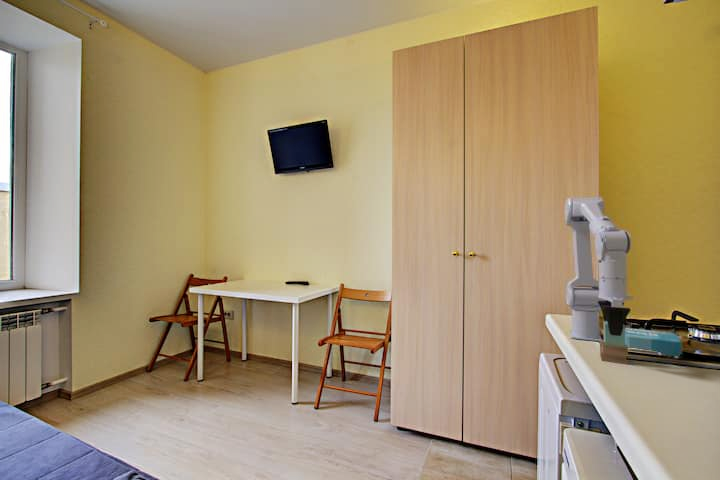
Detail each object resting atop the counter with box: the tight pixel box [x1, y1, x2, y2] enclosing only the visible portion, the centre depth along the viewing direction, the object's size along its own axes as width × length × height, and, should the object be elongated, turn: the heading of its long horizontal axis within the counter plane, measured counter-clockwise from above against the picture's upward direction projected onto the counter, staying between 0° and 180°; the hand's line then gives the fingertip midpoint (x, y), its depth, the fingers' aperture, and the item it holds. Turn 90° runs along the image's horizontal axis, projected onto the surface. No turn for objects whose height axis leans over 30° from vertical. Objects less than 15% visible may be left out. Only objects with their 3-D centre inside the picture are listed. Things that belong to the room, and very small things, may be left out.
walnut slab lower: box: [599, 348, 627, 366], centre depth 89 cm, size 5×5×2 cm
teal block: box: [603, 320, 626, 346], centre depth 89 cm, size 4×4×5 cm
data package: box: [625, 327, 683, 356], centre depth 97 cm, size 12×4×12 cm
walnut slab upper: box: [599, 339, 629, 357], centre depth 89 cm, size 5×5×2 cm
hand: (613, 331), depth 89 cm, fingers open, 7 cm apart
